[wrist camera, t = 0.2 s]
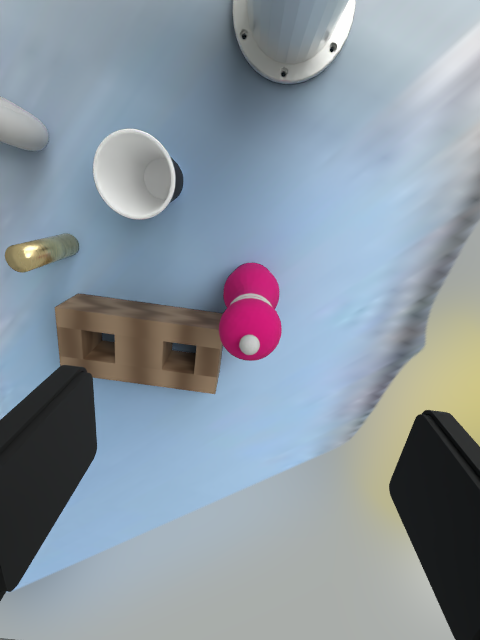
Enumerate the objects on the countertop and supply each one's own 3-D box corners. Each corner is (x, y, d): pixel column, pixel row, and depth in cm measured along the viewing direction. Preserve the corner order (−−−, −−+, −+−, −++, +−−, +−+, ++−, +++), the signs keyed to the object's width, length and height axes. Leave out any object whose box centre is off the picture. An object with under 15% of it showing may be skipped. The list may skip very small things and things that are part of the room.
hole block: (82, 353, 51) (61, 373, 45) (78, 293, 47) (54, 307, 41) (219, 371, 51) (215, 394, 45) (226, 313, 47) (222, 330, 41)
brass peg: (56, 232, 44) (3, 243, 34) (78, 235, 44) (30, 247, 34) (58, 253, 45) (7, 270, 35) (79, 256, 45) (34, 274, 36)
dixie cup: (171, 225, 43) (145, 236, 32) (121, 184, 41) (77, 181, 31) (207, 175, 40) (191, 170, 30) (155, 129, 38) (120, 107, 28)
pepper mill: (261, 316, 47) (265, 398, 28) (217, 293, 46) (192, 363, 27) (286, 274, 44) (309, 334, 26) (241, 249, 43) (231, 293, 25)
